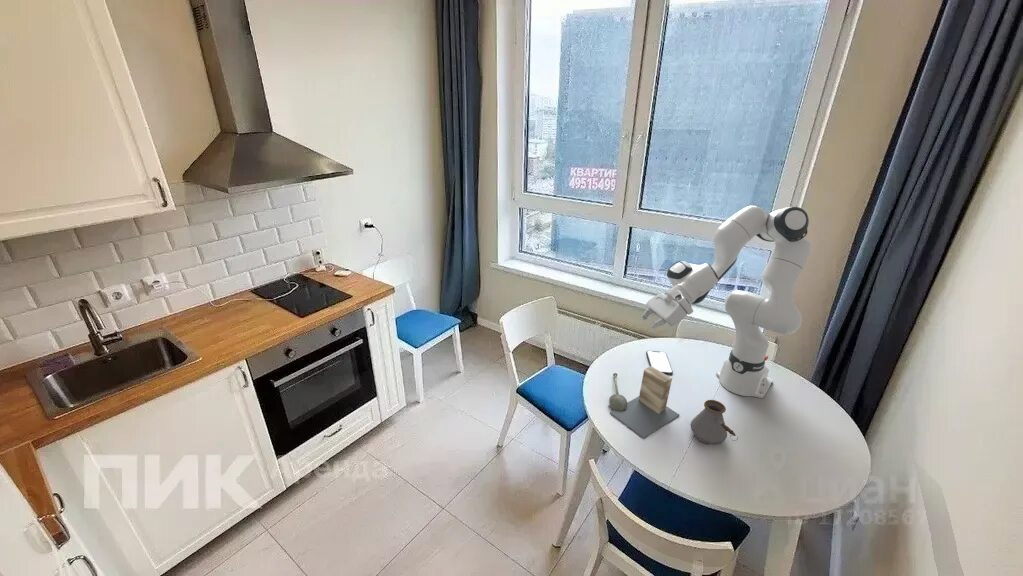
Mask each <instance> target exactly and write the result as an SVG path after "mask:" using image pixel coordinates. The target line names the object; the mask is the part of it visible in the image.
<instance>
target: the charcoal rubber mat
mask: <svg viewBox="0 0 1023 576" xmlns="http://www.w3.org/2000/svg"><path fill="white" fill-rule="evenodd" d="M609 414H610V415H611V416H613V417H614V418H615V419H616V420H618V421H620V422H621V423H622V424H623V425H625V426H626V427H627V428H628V429H630V430H631V431H633V432H634V434H637V435H638V436H639V437H641V438H642V439H643V440H644V439H645V438H647V437H648V436H650V435H652V434H653V433H655V432H657V431H658V430H660V429H661V428H662V427H665V425H667V424H668V423H670V422H671V421H673V420H675V419H676V418H677V417H679V416H680V413H678V412H676V411H674V410H673V409H672V408H671V407H669V406H667V405H666V409H665V410H664V411H662V412H661V413H659V414H658V413H657V412H655V411H654V410H652V409H651V408H649V407H648V406H646V405H645V404H643V403H642V402H640V401H639V395H638V396H637V397H635V398H633V399H632V400H629V401H627V408H626V409H625V410H623V411H617V410H615V409H612V411H610V412H609Z"/></svg>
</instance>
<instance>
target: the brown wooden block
mask: <svg viewBox="0 0 1023 576" xmlns="http://www.w3.org/2000/svg"><path fill="white" fill-rule="evenodd" d="M642 374H643V375H642V381H641V385H640V390H639V395H638V396H639V401H640V402H642V403H643V404H645V405H646V406H648V407H649V408H651V409H652V410H654V411H655V412H657V413H658V414H659V413H661V412H662V411H664V410H665V409H666V406H667V404H668V399H669V395H670V390H671V386H672V380H673V377H671V376H670V375H666V374H664V373H662V372H660V371H659V370H657V369H655V368H654V367H652V366H650V365H649V367H647V368H644V369H643V373H642Z"/></svg>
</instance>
